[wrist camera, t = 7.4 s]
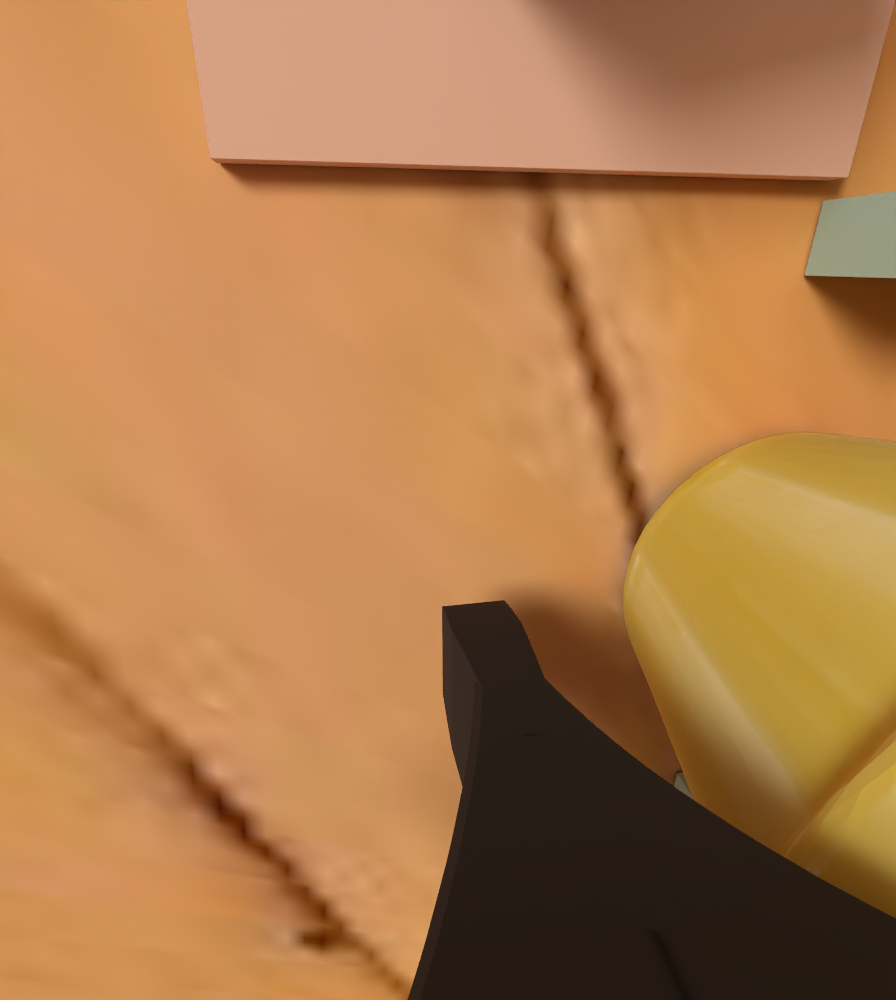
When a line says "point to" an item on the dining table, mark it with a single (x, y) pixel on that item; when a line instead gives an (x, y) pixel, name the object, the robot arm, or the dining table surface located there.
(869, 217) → the frame
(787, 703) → the plant pot
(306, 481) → the dining table surface
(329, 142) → the terracotta mat
